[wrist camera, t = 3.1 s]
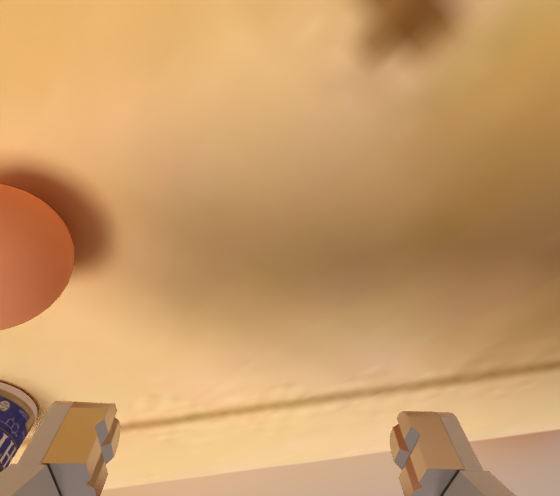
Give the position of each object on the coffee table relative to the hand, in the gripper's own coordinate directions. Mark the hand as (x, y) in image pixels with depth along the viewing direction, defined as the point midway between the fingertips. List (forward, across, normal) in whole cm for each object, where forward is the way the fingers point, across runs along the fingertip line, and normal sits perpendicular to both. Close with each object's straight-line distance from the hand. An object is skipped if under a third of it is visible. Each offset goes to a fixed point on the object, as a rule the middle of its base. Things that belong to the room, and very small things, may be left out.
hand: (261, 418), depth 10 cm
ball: (+6, +11, -1) cm, 13 cm away
